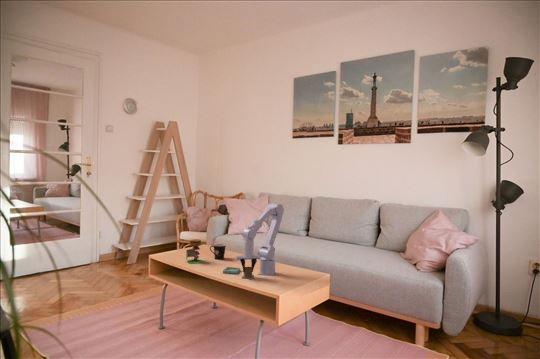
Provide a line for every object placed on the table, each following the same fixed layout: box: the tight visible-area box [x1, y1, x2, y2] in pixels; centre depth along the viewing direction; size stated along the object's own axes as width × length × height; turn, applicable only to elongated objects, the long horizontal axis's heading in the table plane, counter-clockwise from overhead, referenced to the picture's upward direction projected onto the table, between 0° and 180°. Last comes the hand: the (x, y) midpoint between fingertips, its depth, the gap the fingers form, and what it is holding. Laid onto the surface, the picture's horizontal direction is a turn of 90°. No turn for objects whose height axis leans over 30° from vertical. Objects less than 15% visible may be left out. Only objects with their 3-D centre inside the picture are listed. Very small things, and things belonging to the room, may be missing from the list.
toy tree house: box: [185, 239, 204, 265], centre depth 247 cm, size 12×13×15 cm
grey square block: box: [241, 274, 255, 280], centre depth 214 cm, size 6×6×4 cm
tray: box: [222, 266, 241, 275], centre depth 225 cm, size 9×9×2 cm
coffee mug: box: [209, 243, 226, 261], centre depth 258 cm, size 12×9×10 cm
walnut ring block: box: [243, 266, 253, 277], centre depth 214 cm, size 4×4×5 cm
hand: (248, 271), depth 214 cm, fingers closed on walnut ring block, 4 cm apart
